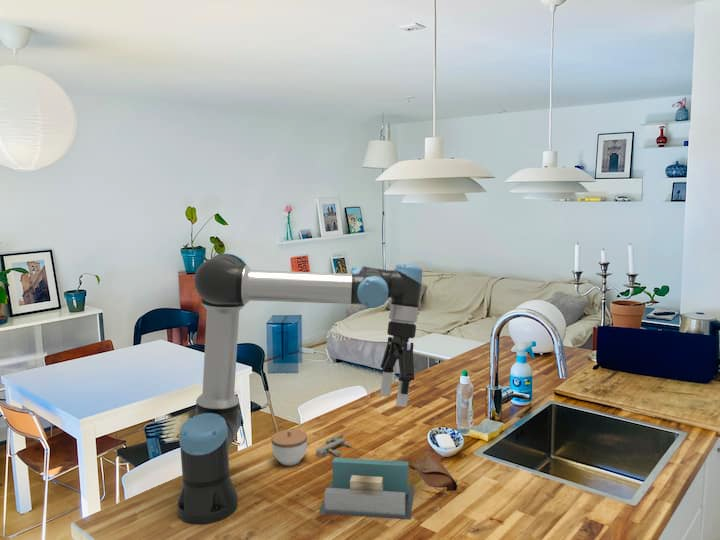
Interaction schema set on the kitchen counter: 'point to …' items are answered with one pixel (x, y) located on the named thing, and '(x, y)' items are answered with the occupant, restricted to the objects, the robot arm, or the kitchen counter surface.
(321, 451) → the clamp
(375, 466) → the slide jaw
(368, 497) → the vise base
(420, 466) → the sunglasses case
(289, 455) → the lidded jar
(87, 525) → the kitchen counter surface
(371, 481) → the block
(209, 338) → the robot arm
